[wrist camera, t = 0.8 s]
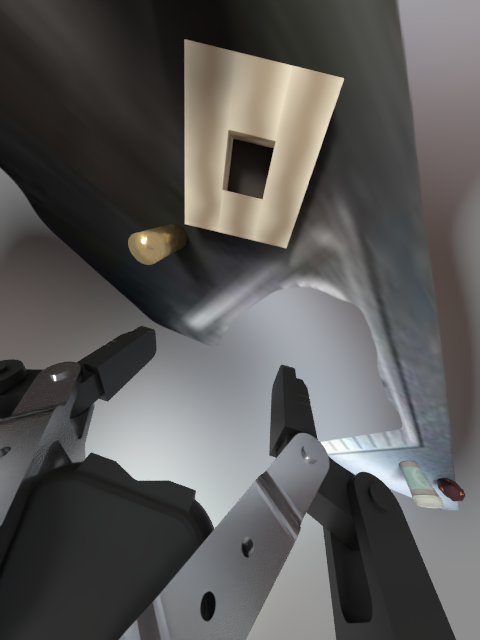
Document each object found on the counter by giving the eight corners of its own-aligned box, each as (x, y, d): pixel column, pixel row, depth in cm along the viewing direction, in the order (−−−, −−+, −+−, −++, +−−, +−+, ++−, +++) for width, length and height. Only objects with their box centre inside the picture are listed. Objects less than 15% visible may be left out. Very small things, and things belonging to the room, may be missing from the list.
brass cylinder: (166, 245, 32) (131, 261, 23) (164, 221, 29) (125, 229, 21) (187, 250, 32) (159, 267, 23) (187, 226, 29) (156, 236, 21)
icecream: (441, 494, 68) (441, 499, 75) (470, 502, 64) (467, 507, 71) (433, 472, 73) (434, 479, 80) (460, 478, 68) (458, 484, 75)
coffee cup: (425, 464, 69) (451, 508, 59) (403, 468, 74) (424, 509, 64) (412, 458, 67) (436, 501, 57) (390, 462, 72) (410, 503, 62)
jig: (193, 221, 29) (184, 223, 26) (196, 62, 19) (184, 38, 16) (284, 243, 29) (286, 248, 26) (332, 96, 19) (344, 78, 16)
